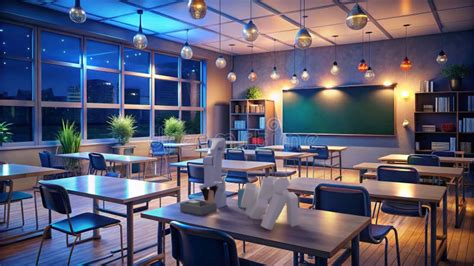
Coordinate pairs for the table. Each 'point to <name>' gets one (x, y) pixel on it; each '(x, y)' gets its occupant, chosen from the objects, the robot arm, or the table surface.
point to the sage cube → (194, 203)
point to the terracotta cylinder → (210, 197)
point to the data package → (240, 197)
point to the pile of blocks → (270, 201)
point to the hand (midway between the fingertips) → (209, 199)
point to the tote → (198, 208)
